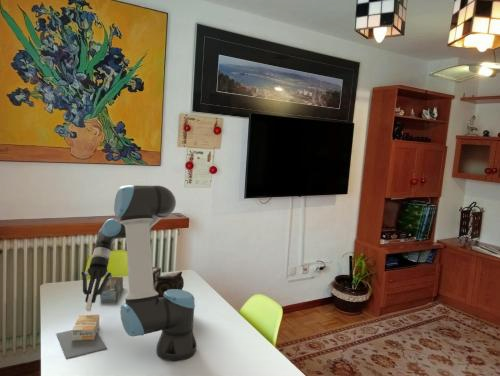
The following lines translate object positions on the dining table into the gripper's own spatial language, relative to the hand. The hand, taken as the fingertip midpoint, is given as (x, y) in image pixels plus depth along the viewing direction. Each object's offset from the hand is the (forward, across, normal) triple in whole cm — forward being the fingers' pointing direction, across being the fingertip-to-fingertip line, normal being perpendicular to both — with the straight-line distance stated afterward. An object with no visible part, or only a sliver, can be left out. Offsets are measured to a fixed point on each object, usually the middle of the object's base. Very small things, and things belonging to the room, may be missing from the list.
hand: (88, 310), depth 158 cm
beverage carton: (-19, -2, -30) cm, 35 cm away
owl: (-5, -31, -16) cm, 35 cm away
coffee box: (-14, -22, -25) cm, 36 cm away
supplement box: (+3, 0, -4) cm, 4 cm away
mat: (+14, -1, +4) cm, 14 cm away
